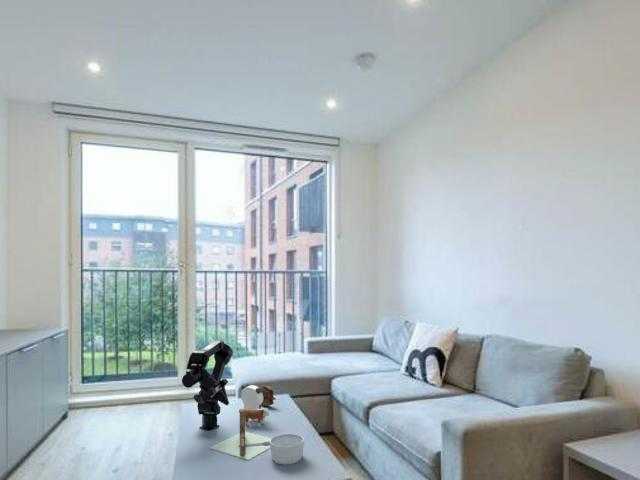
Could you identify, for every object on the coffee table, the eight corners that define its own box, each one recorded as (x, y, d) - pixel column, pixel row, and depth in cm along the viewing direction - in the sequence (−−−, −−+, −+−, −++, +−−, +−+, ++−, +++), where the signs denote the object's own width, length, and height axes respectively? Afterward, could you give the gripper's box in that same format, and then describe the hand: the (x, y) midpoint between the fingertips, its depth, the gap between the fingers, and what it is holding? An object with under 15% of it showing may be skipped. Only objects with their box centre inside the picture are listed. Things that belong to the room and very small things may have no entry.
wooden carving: (251, 403, 225) (251, 384, 226) (257, 401, 229) (257, 382, 229) (271, 409, 214) (271, 389, 215) (278, 407, 218) (278, 387, 219)
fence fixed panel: (240, 446, 170) (240, 435, 170) (245, 445, 170) (245, 435, 170) (240, 457, 160) (240, 446, 160) (245, 456, 160) (245, 445, 160)
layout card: (209, 448, 168) (209, 447, 168) (243, 431, 185) (243, 431, 185) (248, 460, 157) (248, 459, 157) (281, 441, 173) (281, 440, 173)
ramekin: (272, 451, 165) (272, 433, 165) (305, 451, 164) (305, 432, 165) (267, 466, 152) (267, 447, 152) (303, 466, 151) (303, 446, 152)
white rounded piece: (269, 416, 205) (268, 385, 206) (253, 423, 195) (253, 390, 196) (250, 412, 211) (250, 381, 212) (234, 418, 202) (234, 387, 203)
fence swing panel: (246, 443, 171) (246, 416, 171) (238, 443, 170) (238, 416, 171) (245, 434, 180) (245, 408, 181) (239, 434, 180) (239, 409, 181)
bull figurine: (268, 428, 189) (268, 409, 190) (241, 426, 192) (241, 408, 192) (271, 424, 193) (271, 406, 194) (244, 422, 196) (244, 405, 197)
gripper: (200, 385, 192) (223, 410, 190) (181, 397, 174) (206, 425, 172) (216, 368, 192) (239, 393, 190) (200, 378, 174) (225, 406, 171)
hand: (228, 404), depth 181 cm, fingers closed
